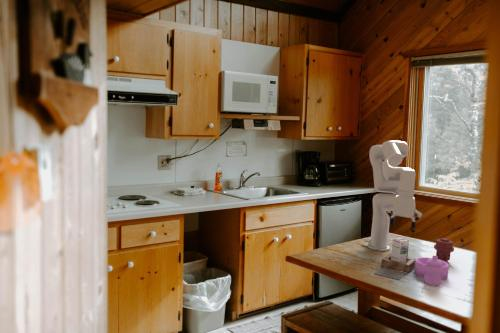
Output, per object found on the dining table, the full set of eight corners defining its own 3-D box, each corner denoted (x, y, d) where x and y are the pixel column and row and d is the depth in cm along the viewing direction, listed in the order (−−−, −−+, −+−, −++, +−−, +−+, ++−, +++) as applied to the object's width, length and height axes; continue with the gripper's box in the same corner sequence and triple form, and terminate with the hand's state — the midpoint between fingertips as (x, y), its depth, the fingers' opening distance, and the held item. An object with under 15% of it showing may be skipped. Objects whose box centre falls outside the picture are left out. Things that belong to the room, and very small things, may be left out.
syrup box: (398, 269, 243) (401, 241, 241) (389, 265, 248) (392, 237, 246) (406, 268, 246) (409, 240, 244) (398, 264, 251) (401, 237, 249)
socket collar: (381, 267, 245) (381, 259, 244) (389, 260, 256) (389, 253, 256) (408, 273, 238) (409, 265, 237) (415, 266, 249) (416, 259, 249)
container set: (414, 267, 247) (416, 242, 246) (446, 272, 243) (449, 247, 241) (414, 283, 224) (417, 256, 222) (450, 289, 219) (453, 261, 217)
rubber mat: (373, 274, 233) (373, 273, 233) (381, 267, 243) (381, 267, 243) (399, 280, 227) (399, 279, 227) (405, 273, 237) (406, 272, 237)
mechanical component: (450, 259, 265) (454, 265, 255) (431, 257, 267) (434, 263, 257) (452, 237, 264) (456, 242, 254) (433, 235, 265) (436, 240, 256)
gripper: (386, 192, 244) (383, 225, 245) (421, 197, 235) (418, 231, 236) (390, 190, 250) (387, 223, 252) (425, 195, 241) (422, 229, 243)
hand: (402, 227), depth 244 cm, fingers open, 9 cm apart
